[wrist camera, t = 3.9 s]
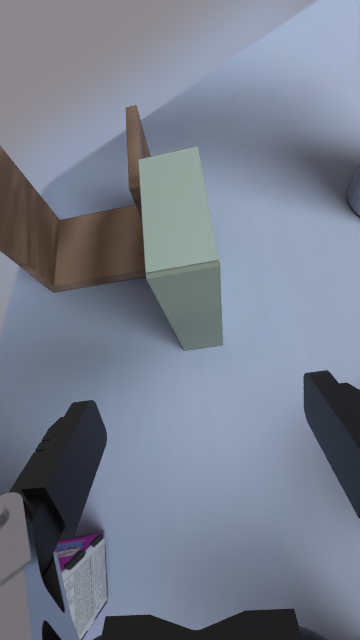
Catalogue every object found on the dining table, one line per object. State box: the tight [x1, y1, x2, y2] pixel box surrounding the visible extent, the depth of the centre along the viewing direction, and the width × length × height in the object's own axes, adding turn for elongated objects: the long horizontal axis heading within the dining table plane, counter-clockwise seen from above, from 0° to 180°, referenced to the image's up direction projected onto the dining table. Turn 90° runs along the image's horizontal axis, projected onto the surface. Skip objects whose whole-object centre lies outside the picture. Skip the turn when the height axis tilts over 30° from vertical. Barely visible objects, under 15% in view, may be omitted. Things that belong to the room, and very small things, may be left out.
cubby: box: [0, 105, 151, 292], centre depth 29 cm, size 15×10×12 cm, turn 96°
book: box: [139, 146, 223, 351], centre depth 23 cm, size 4×10×15 cm, turn 6°
